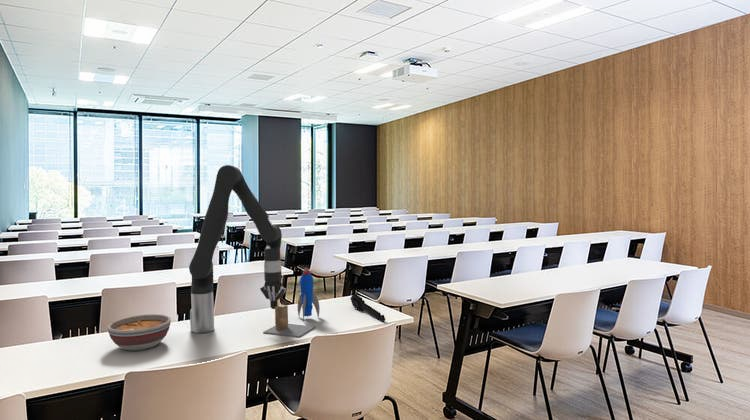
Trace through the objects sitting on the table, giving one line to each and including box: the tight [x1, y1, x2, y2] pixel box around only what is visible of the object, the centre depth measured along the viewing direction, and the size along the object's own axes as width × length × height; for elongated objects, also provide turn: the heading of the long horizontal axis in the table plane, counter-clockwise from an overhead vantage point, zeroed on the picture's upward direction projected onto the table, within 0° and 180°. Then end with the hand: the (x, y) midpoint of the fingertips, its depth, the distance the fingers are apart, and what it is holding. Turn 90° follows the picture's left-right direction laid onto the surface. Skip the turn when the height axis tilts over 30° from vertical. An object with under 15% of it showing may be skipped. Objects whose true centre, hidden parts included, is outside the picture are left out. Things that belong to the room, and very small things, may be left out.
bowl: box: [107, 313, 172, 352], centre depth 194 cm, size 23×23×10 cm
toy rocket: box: [297, 266, 320, 322], centre depth 227 cm, size 11×10×25 cm
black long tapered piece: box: [350, 292, 386, 323], centre depth 237 cm, size 35×4×8 cm, turn 28°
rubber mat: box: [262, 323, 316, 338], centre depth 212 cm, size 18×14×1 cm
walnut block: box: [274, 304, 289, 330], centre depth 213 cm, size 4×4×10 cm
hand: (274, 308), depth 214 cm, fingers closed
